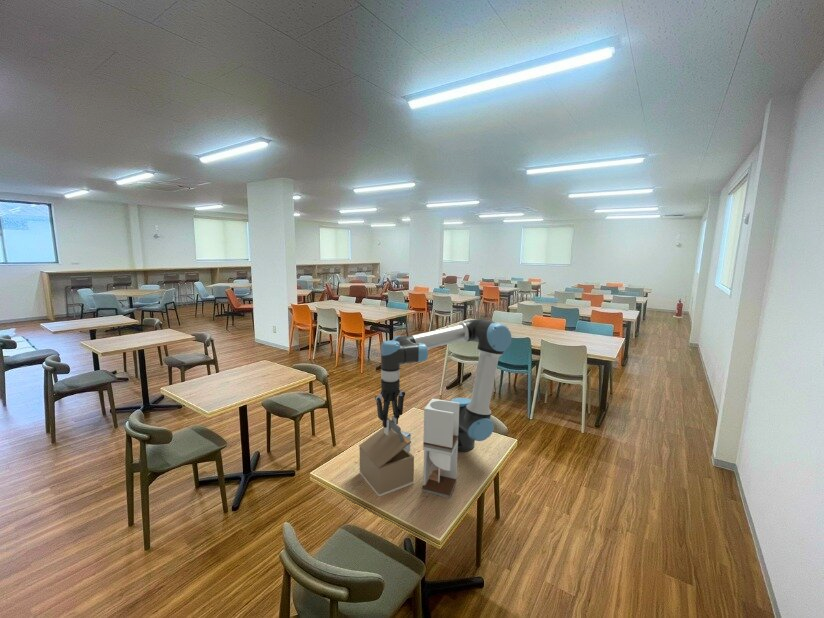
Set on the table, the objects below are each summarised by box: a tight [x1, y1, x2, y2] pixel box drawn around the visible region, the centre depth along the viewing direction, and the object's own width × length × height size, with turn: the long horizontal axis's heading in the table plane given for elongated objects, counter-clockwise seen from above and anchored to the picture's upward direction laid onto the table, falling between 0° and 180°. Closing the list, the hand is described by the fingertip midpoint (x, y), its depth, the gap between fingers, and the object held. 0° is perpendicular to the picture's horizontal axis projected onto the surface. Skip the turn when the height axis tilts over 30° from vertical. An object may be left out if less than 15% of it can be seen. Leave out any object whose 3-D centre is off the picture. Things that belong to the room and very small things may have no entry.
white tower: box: [421, 398, 459, 499], centre depth 144 cm, size 11×11×35 cm
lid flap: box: [358, 417, 412, 468], centre depth 148 cm, size 16×18×8 cm
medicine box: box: [401, 430, 412, 452], centre depth 173 cm, size 8×4×9 cm, turn 62°
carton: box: [359, 447, 415, 498], centre depth 151 cm, size 16×18×12 cm
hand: (390, 432), depth 150 cm, fingers open, 3 cm apart
